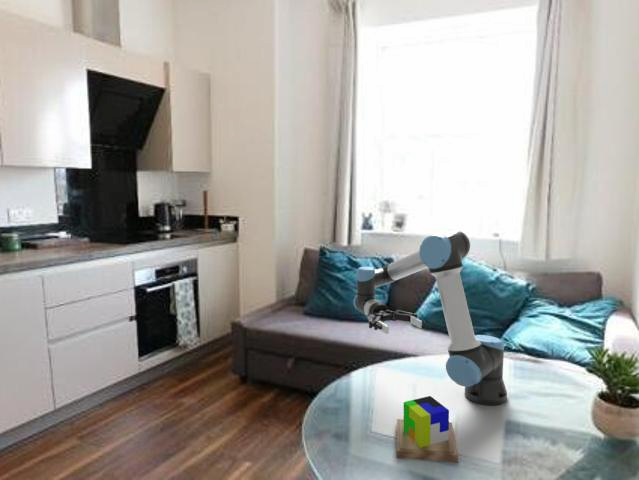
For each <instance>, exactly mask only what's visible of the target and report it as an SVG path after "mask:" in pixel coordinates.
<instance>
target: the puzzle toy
mask: <svg viewBox="0 0 639 480" xmlns="http://www.w3.org/2000/svg"><path fill="white" fill-rule="evenodd" d="M403 420H404V432H405V433H406V434H407V435H408V436H409V437H410V438H411V439H412V440H413V441H415V442H416V443H417V444H418V445H419V446H420V447H421V448H422V447H425V446H429V445H433V444H436V443H440V442H443V441H447V440H449V421H450V410H449V409H448V408H447V407H446V406H444V405H443V404H441V403H440V402H439V401H438V400H436V399H435V398H434V397H432V396H431V395H428V396H425V397H420V398H415V399H412V400H407V401H404V402H403Z"/></svg>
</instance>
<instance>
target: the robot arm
mask: <svg viewBox="0 0 639 480" xmlns="http://www.w3.org/2000/svg"><path fill="white" fill-rule="evenodd" d="M470 249H471V241H470V239H469V238H468V236H467V235H466V234H465V233H464V232H462V231H460V230H458V229H449V230H446V231H442V232H435V233H433V234H431V235H428V236H426V237H425V238H424V239H423V240H422V242H421V243H420V246H419V249H418V251H416V252H414V253H411V254H409V255H406V256H405V257H402V258H400V259H398V260H396V261H393V262H391V263H388V264H386V265H384V266H381V267H379V268H374V267H373V266H367V265H366V266H360V267H358V268H357V269H356V295H354V298H353V302H352V303H353V306H354V308H355V309H356V310H357V311H358V312H360V313H362V314H364V315H366V316H367V321H368V328H369V329H374V331H378V330H380V331H381V332H383V333H384V334H386V335H389V331H390V330H389V329H390V328H389V326H388V325H387V324H386V323H384V322H385V321H388V322H389V321H392V322H396V321H400V322H401V321H402V322H408V323H409V322H410V324H411V325H413V326H415V327H417V328H419V329H423V328H422V327H423V326H422V325H423V320H421V319H419V318H418V314H417V313H414V312H409V311H404V310H400V309H398V308H397V309H395V311H394V310H391V309H390V308H389V306H387V305H386V304H385V303H382V302H381V301H379V300H377V299H376V288H379V287H381V286H385V285H389V284H392V283H394V282H396V281H397V280H401V279H403V278H405V277H408V276H410V275H412V274H415V273H417V272H420V271H423V270H425V269H427V268H428V270H429V274H431V276H433V277H434V278H435V281H436V284H437V285H436V286H437V290H438V294H439V298H440V303H441V307H442V312H443V315H444V320H445V324H446V329H447V332H448V337H449V340H450V342H449V344H448V346H447V350H448V356H449V357H448V358H447V361H446V362H445V371H446V373H447V376H448V377H449V378H450V379H451V381H453V382H455V384H457V385H458V386H461V387H464V395H465V397H466V398H467V399H468V400H469V401H472V402H473V403H476V404H479V405H484V406H498V405H502V404H505V403H506V402H507V400H508V391H507V388H506V384H505V381H504V379H503V378H504V377H503V375H504V357H505V356H504V353H505V348H504V347H505V346H504V341H503V340H502V339H500V338H498V337H495V336H492V335H485V334H475V331H474V328H473V323H472V318H471V316H470V315H471V314H470V311H469V307H468V302H467V297H466V292H465V290H464V286H463V285H464V284H463V282H462V281H463V280H462V276H461V271H462V269H463V267H464V266H463V261H462V260H464V258H466V257H467V255H468V254H469V253H470Z"/></svg>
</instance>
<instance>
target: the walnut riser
mask: <svg viewBox="0 0 639 480" xmlns="http://www.w3.org/2000/svg"><path fill="white" fill-rule="evenodd" d="M455 437H456V436H455V431H454V428H453V422H449V440H447V441H443V442H440V443H436V444H433V445H429V446H425V447H422V448H421V447H420V446H419V445H418V444H417V443H416V442H415V441H413V440H412V439H411V438H410V437H409V436H408V435H407V434H406V433H405V432H404V419H401V418H399V419H396V459H401V460H402V459H403V460H404V459H405V460H419V461H430V462H442V463H443V462H445V463H446V462H447V463H456V464H458V463H459V451H458V446H457V442H456V438H455Z"/></svg>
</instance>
